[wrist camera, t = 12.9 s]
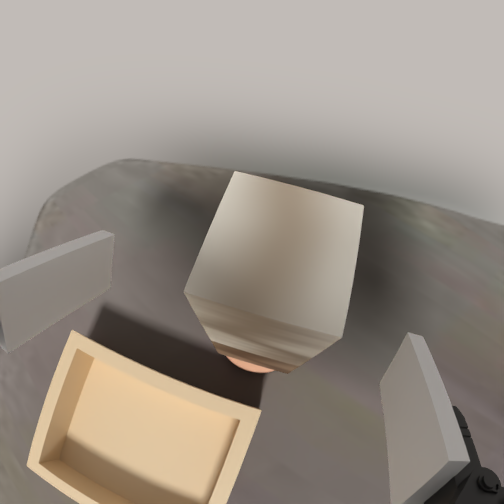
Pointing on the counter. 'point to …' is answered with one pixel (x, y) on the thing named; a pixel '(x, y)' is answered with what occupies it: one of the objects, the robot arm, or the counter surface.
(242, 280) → the two-tone block
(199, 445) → the beige open tray
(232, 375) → the counter surface
